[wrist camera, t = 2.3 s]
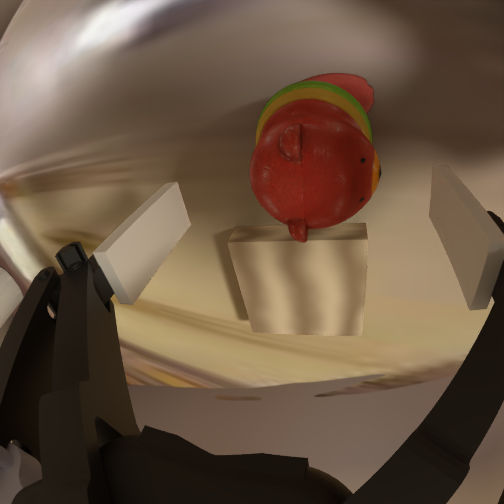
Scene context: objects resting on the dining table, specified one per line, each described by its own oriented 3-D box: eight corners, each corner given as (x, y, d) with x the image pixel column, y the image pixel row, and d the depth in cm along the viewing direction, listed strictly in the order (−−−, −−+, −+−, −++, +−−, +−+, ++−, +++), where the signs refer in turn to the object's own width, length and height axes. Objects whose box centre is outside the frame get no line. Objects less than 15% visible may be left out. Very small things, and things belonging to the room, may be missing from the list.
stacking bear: (365, 176, 30) (385, 290, 16) (272, 166, 32) (217, 267, 18) (375, 77, 24) (429, 98, 10) (272, 68, 26) (199, 79, 12)
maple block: (365, 220, 34) (367, 239, 30) (361, 315, 42) (361, 335, 39) (236, 225, 39) (227, 242, 35) (259, 312, 47) (252, 332, 44)
